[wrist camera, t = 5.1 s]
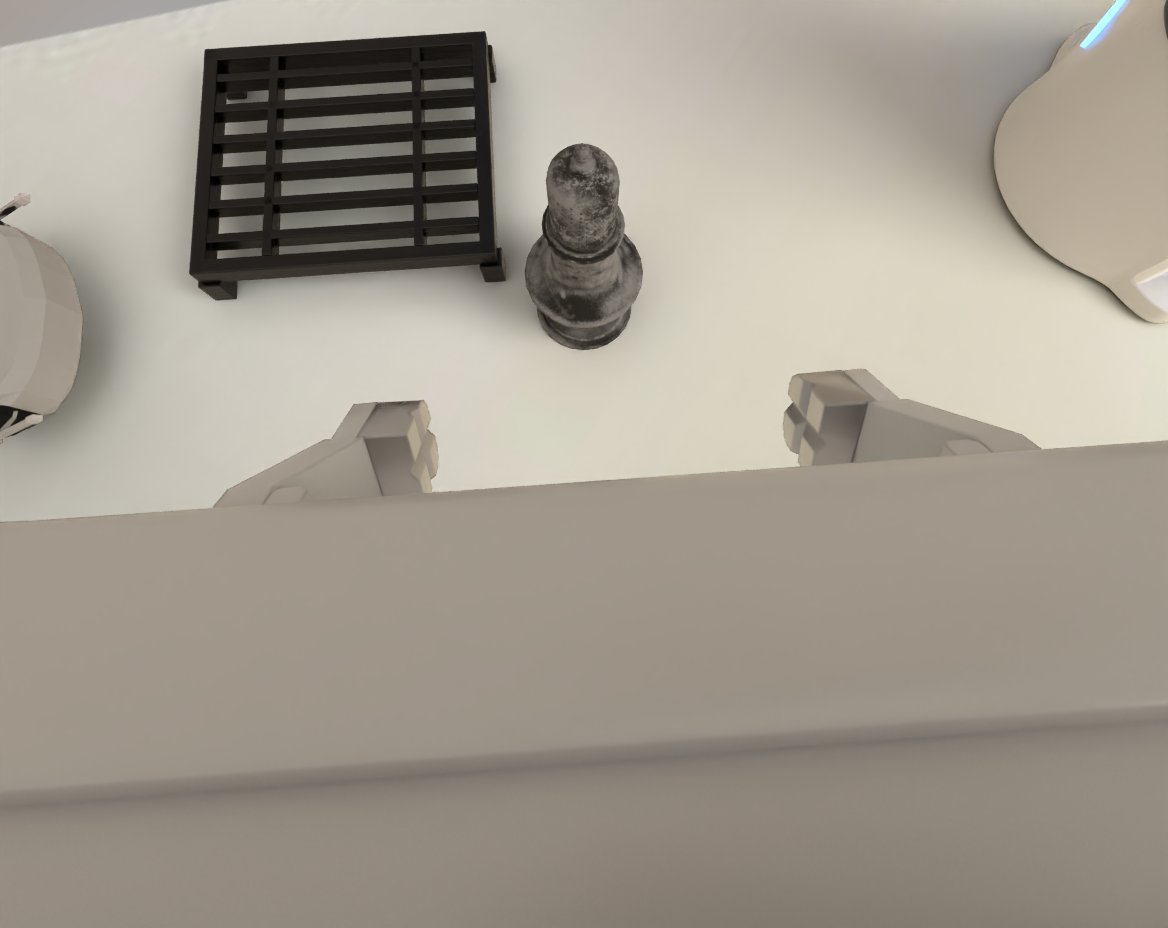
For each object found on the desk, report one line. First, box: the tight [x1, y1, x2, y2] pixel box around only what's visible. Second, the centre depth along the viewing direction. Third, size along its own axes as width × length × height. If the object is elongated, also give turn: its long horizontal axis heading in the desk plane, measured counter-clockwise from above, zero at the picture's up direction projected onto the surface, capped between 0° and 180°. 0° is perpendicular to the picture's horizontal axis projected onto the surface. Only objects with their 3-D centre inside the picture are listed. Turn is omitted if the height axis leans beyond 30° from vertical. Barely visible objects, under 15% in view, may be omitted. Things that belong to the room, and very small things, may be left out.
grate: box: [189, 31, 506, 300], centre depth 32 cm, size 16×14×2 cm
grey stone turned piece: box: [525, 143, 643, 350], centre depth 25 cm, size 6×6×12 cm
